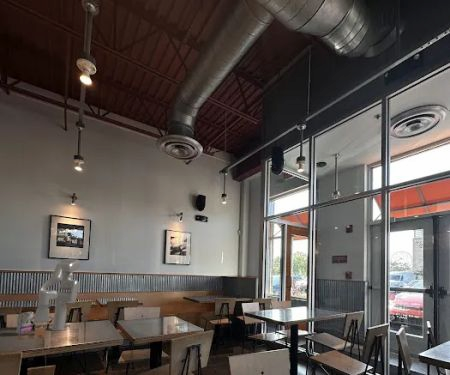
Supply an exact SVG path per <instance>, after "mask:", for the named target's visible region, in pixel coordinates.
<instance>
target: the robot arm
mask: <svg viewBox="0 0 450 375" xmlns="http://www.w3.org/2000/svg"><path fill="white" fill-rule="evenodd" d="M80 266H81V261H80V260H79V259H73V258H70V259H68V258H67V259H66V258H65V259H62V260H61V261H60V262H58V263H57V264H56V267H55V268H54V271H53V272H52V274H51V277H50V278H48V280H46V281H45V282H44V283H42V286H41V287H40V289H39V291H38V302H37V303H38V304H37V308H36V309H35V310H36V311H35V312H34V313H35V314H34V316H33V317H32V318H30V319H29V320H30V322H31V324H32V331H35V328H36V327H35V326H36V323H47V325H46V330H48V329H50V330H51V331H65V330H67V328H69V327H70V328H71V326H72V325H71V323H70V324H69V323H68V324H66V319H67V318H66V317H67V311H68V309H67V308H68V307H67V305H66V304H73V303H75V302H76V299H77V296H78V292H79V288H80V283H79V280H77V279H73V277H74V276H73V275H74V273H73V272H75V271H77V270H78V269H79V268H80ZM58 283H60V285H59V289H60V291H57V290H55V289H48V288H49V287H51V286H53V285H56V284H58ZM61 290H62V291H61ZM50 300H54V301H55V305H54V314H53V316H50V308H51V305H50ZM32 319H33V322H32ZM49 319H50V320H49ZM51 323H53V324H52V327H50V324H51Z"/></svg>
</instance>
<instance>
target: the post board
mask: <svg viewBox="0 0 450 375" xmlns="http://www.w3.org/2000/svg"><path fill="white" fill-rule="evenodd" d="M37 327H38V328H43V327H44V326H42V325H38V326H37ZM17 334H18V335H17V337H16V340H31V339H45V338H46V339H47V334H48V332H45V335H36V336H34V335H35V332H29V333H17Z"/></svg>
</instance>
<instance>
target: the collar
mask: <svg viewBox="0 0 450 375" xmlns="http://www.w3.org/2000/svg"><path fill="white" fill-rule="evenodd" d="M34 333H35V335H34V336H36V335H45V333H46V326H43V328H38V326H36V327H34Z"/></svg>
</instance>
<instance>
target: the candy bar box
mask: <svg viewBox="0 0 450 375" xmlns="http://www.w3.org/2000/svg"><path fill="white" fill-rule="evenodd" d="M34 313H35V312H33V311H27V312H20V313H18V315H17V321H16V330H15V334H28V333H32V332H33V329H32V326H33V325H32V324H31V322H30V320H29V319H30V318H32V317H34V315H35V314H34ZM32 322H34V319H32Z"/></svg>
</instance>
